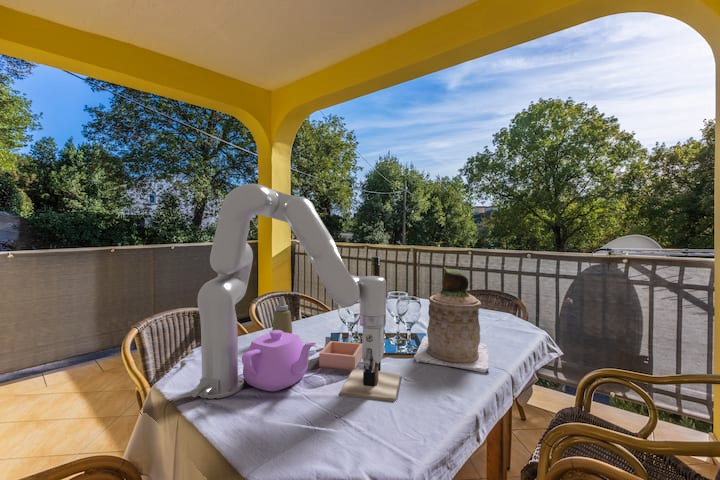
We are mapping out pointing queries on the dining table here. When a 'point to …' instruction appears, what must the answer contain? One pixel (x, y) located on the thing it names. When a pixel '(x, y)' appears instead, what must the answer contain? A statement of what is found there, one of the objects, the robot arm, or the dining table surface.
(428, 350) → the cookie jar
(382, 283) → the robot arm
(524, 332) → the dining table surface
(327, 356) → the dish
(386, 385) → the lid
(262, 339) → the teapot
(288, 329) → the squeeze bottle
